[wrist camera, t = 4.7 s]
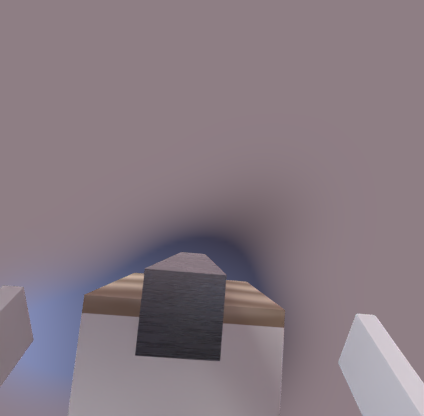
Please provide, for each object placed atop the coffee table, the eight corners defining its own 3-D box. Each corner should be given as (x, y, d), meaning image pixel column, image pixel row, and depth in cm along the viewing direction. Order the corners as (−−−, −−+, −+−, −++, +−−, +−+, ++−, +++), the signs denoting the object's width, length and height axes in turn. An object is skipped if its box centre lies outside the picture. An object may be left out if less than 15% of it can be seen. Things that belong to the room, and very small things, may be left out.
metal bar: (220, 361, 10) (226, 275, 11) (134, 355, 10) (144, 268, 10) (202, 278, 36) (205, 254, 36) (179, 276, 36) (181, 252, 36)
